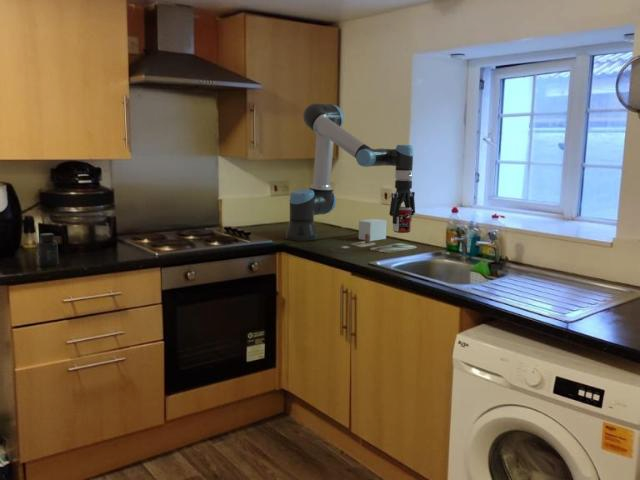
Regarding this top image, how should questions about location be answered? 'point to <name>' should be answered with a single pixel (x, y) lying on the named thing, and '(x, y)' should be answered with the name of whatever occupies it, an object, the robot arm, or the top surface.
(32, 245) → the top surface
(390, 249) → the board
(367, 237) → the plate
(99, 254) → the top surface
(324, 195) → the robot arm
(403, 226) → the canned food
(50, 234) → the supplement bottle
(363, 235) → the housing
